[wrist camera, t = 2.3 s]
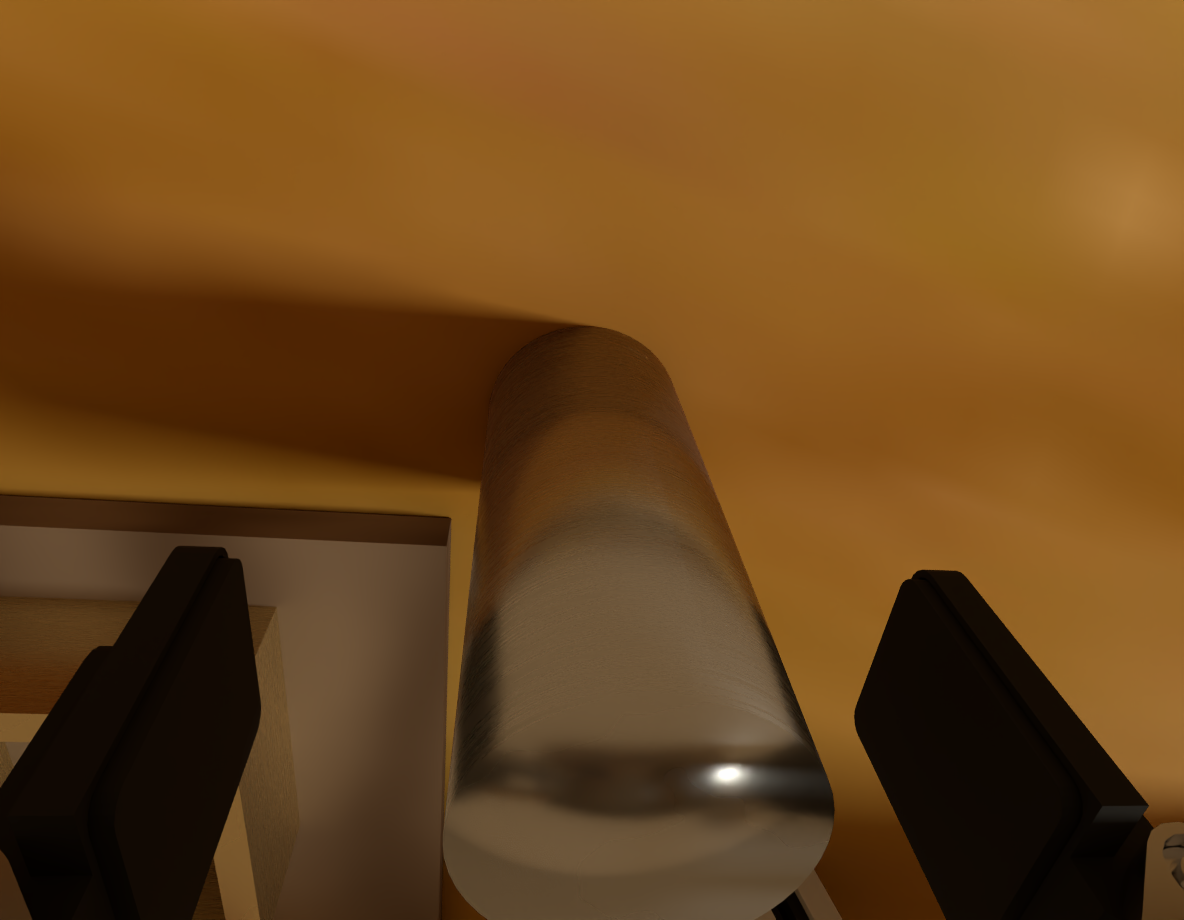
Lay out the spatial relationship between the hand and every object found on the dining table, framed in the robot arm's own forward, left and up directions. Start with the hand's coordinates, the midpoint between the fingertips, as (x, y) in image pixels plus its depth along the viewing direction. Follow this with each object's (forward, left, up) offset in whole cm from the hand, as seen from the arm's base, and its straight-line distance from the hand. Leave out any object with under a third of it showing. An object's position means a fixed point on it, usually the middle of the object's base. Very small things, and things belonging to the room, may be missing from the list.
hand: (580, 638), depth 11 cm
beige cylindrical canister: (-1, 0, -8) cm, 8 cm away
